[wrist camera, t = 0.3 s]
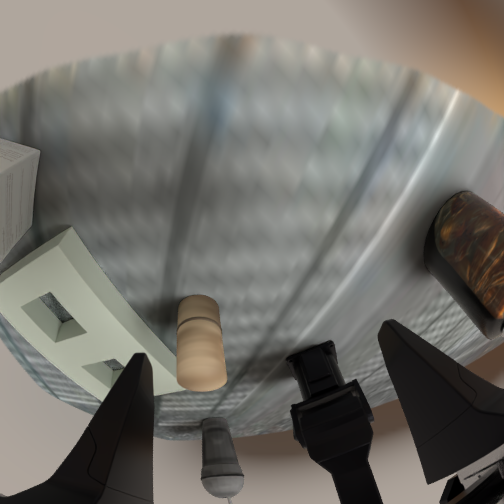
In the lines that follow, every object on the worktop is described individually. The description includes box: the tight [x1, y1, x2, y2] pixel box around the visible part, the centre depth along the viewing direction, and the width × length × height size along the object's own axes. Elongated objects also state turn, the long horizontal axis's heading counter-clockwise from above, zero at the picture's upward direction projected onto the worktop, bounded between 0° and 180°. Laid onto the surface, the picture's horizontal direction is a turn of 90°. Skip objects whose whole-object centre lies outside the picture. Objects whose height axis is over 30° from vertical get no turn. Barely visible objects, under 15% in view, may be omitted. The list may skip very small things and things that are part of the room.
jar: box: [424, 191, 504, 340], centre depth 21 cm, size 12×12×15 cm
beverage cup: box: [201, 417, 244, 504], centre depth 34 cm, size 7×7×20 cm
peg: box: [176, 295, 227, 392], centre depth 23 cm, size 4×4×8 cm
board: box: [0, 226, 187, 402], centre depth 24 cm, size 22×14×3 cm, turn 18°
